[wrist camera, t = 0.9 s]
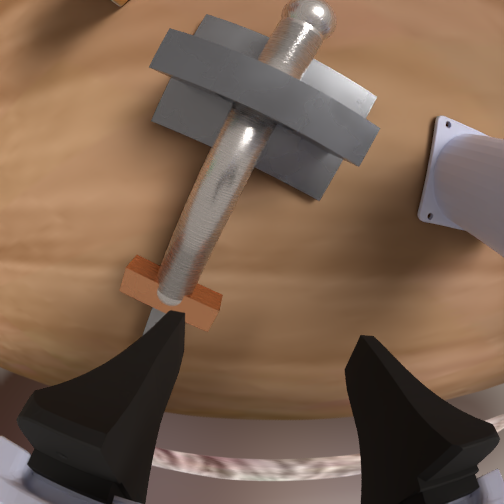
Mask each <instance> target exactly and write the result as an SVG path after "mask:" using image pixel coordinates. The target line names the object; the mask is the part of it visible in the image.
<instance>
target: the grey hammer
mask: <svg viewBox="0 0 504 504" xmlns="http://www.w3.org/2000/svg"><path fill="white" fill-rule="evenodd" d="M268 40H269V37H267V36H264V35H262V34H260V33H257V32H255V31H252V30H250V29H247V28H245V27H242V26H239V25H237V24H234V23H231V22H228V21H226V20H223V19H220V18H217V17H214V16H211V15H207V14H206V16H205V17H204V19H203V21H202V22H201V24H200V26H199V27H198V29H197V31H196V32H195V34H194V36H193V35H190V34H187V33H184V32H180V31H177V30H174V29H169V30H168V32H167V34H166V36H165V38H164V39H163V41H162V43H161V45H160V47H159V49H158V51H157V52H156V54H155V56H154V58H153V60H152V62H151V64H150V66H149V68H152V69H154V70H156V71H158V72H160V73H162V74H165V75H167V76H169V77H171V79H170V81H169V83H168V85H167V87H166V89H165V91H164V93H163V96H162V98H161V100H160V102H159V104H158V106H157V109H156V111H155V113H154V115H153V118H152V120H151V121H152V122H155V123H157V124H160V125H162V126H164V127H167V128H169V129H172V130H174V131H176V132H179V133H181V134H183V135H186V136H188V137H190V138H193V139H195V140H197V141H199V142H202V143H204V144H206V145H208V146H211V147H212V145H213V143H214V141H215V138H216V136H217V134H218V132H219V130H220V128H221V126H222V124H223V122H224V120H225V118H226V116H227V114H228V112H229V110H230V109H231V107H232V105H233V103H234V101H235V102H237V103H239V104H242V105H244V106H246V107H248V108H250V109H252V110H255V111H257V112H259V113H261V114H263V115H265V116H267V117H269V118H271V119H273V120H275V121H277V122H278V123H277V125H276V127H275V129H274V131H273V133H272V135H271V137H270V138H269V140H268V142H267V144H266V146H265V148H264V150H263V152H262V154H261V156H260V157H259V159H258V161H257V163H256V165H255V168H257V169H259V170H261V171H263V172H265V173H267V174H269V175H271V176H273V177H275V178H277V179H279V180H281V181H283V182H285V183H287V184H288V185H290V186H292V187H294V188H296V189H298V190H300V191H302V192H304V193H305V194H307V195H309V196H311V197H313V198H315V199H317V200H318V201H320V199H321V198H322V196H323V194H324V192H325V191H326V189H327V187H328V185H329V184H330V182H331V180H332V178H333V177H334V175H335V173H336V171H337V169H338V168H339V166H340V164H341V162H342V161H343V160H345V161H348V162H350V163H352V164H354V165H356V166H358V167H359V166H360V164H361V162H362V161H363V159H364V157H365V155H366V153H367V152H368V150H369V148H370V146H371V144H372V143H373V141H374V139H375V137H376V135H377V133H378V131H379V130H380V128H379V127H377V126H376V125H374V124H373V123H371V122H370V121H368V120H367V119H366V117H367V115H368V113H369V111H370V110H371V108H372V106H373V104H374V102H375V100H376V98H377V97H376V96H375V95H373V94H372V93H370V92H369V91H367V90H366V89H364V88H363V87H361V86H360V85H358V84H356V83H355V82H353V81H352V80H350V79H348V78H347V77H345V76H343V75H342V74H340V73H338V72H336V71H335V70H333V69H331V68H329V67H328V66H326V65H324V64H322V63H320V62H319V61H317V60H315V59H313V60H312V62H311V64H310V65H309V67H308V69H307V71H306V72H305V74H304V76H303V78H302V80H301V81H300V80H298V79H296V78H294V77H292V76H290V75H288V74H286V73H284V72H282V71H280V70H278V69H276V68H274V67H272V66H270V65H267V64H265V63H263V62H261V61H259V60H257V59H258V57H259V55H260V53H261V52H262V50H263V48H264V47H265V45H266V43H267V41H268ZM165 314H166V313H164V312H162V311H159V310H157V309H155V308H153V307H152V310H151V313H150V316H149V319H148V321H147V324H146V327H145V330H144V333H143V335H144V334H145V333H146V332H147V331H148V330H150V329H151V328H152V327H153V326H154V325H155V324H156V323H157V322H158V321H159V320H160V319H161V318H162V317H163V316H164V315H165Z"/></svg>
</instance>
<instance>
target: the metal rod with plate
mask: <svg viewBox="0 0 504 504" xmlns="http://www.w3.org/2000/svg"><path fill="white" fill-rule="evenodd" d="M336 22H337V20H336V15H335V12H334V10H333V8H332V7H331V6H330V5H329V4H328V3H327V2H326V1H324V0H290V1H289V2H288V3H287V4H286V5H285V6H284V8H283V11H282V14H281V20H280V22H279V23H278V25H277V27H276V28H275V30H274V31H273V33H272V35H271V36H270V38H269V40H268V41H267V43H266V45H265V47H264V48H263V50H262V52H261V53H260V55H259V57H258V59H257V60H259V61H261V62H263V63H265V64H267V65H270V66H272V67H274V68H276V69H278V70H280V71H282V72H284V73H286V74H288V75H290V76H292V77H294V78H296V79H298V80H300V81H301V80H302V78H303V76H304V74H305V72H306V71H307V69H308V67H309V65H310V64H311V62H312V60H313V58H314V57H315V55H316V53H317V51H318V50H319V48H320V46H321V44H322V42H323V40H325V39H327V38H328V37H329V36H330V35H331V34H332V33H333V32H334V30H335V27H336ZM277 123H278V122H277V121H275V120H273V119H271V118H269V117H267V116H265V115H263V114H261V113H259V112H257V111H255V110H252V109H250V108H248V107H246V106H244V105H242V104H239V103H237V102H235V101H234V103H233V105H232V107H231V109H230V110H229V112H228V114H227V116H226V118H225V120H224V122H223V124H222V126H221V128H220V130H219V132H218V134H217V136H216V138H215V141H214V143H213V145H212V147H211V149H210V151H209V153H208V155H207V157H206V159H205V162H204V164H203V166H202V168H201V170H200V172H199V175H198V177H197V179H196V181H195V184H194V186H193V188H192V190H191V193H190V195H189V197H188V199H187V202H186V204H185V206H184V209H183V211H182V213H181V216H180V218H179V221H178V223H177V226H176V228H175V230H174V233H173V235H172V238H171V240H170V243H169V245H168V248H167V250H166V253H165V256H164V258H163V261H162V263H161V266H159V265H157V264H155V263H153V262H151V261H149V260H147V259H144V258H142V257H140V256H138V255H136V256H135V258H134V259H133V260H132V261H131V262H130V263H129V265H128V266H127V267H126V269H125V272H124V276H123V279H122V283H121V287H120V290H119V291H121V292H123V293H125V294H126V295H128V296H130V297H132V298H135V299H137V300H139V301H141V302H143V303H145V304H147V305H149V306H151V307H153V308H155V309H157V310H159V311H162V312H164V313H167V312H168V311H170V310H173V311H178V312H184V313H185V322H186V323H188V324H190V325H193V326H195V327H197V328H199V329H202V330H204V331H207V332H208V331H209V329H210V327H211V325H212V323H213V322H214V320H215V318H216V316H217V314H218V312H219V310H220V305H221V301H222V296H223V295H222V294H219V293H217V292H215V291H213V290H211V289H208V288H206V287H204V286H202V285H200V284H197V283H198V281H199V278H200V276H201V274H202V272H203V270H204V268H205V266H206V264H207V262H208V260H209V257H210V255H211V253H212V251H213V249H214V247H215V245H216V243H217V241H218V239H219V237H220V235H221V233H222V231H223V229H224V227H225V225H226V222H227V220H228V218H229V216H230V214H231V212H232V210H233V208H234V206H235V204H236V202H237V200H238V198H239V196H240V194H241V192H242V191H243V189H244V187H245V185H246V183H247V181H248V179H249V177H250V175H251V173H252V171H253V169H254V167H255V165H256V163H257V161H258V159H259V157H260V156H261V154H262V152H263V150H264V148H265V146H266V144H267V142H268V140H269V138H270V137H271V135H272V133H273V131H274V129H275V127H276V125H277Z"/></svg>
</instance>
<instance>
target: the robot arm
mask: <svg viewBox="0 0 504 504" xmlns="http://www.w3.org/2000/svg"><path fill="white" fill-rule="evenodd" d="M446 122H448V127H446ZM429 213H431V216H430V217H429V218H427V217H428V214H429ZM418 218H419V219H420V220H421V221H423V222H428V223H433V224H437V225H442V226H447V227H451V228H456V229H460V230H464V231H467V232H469V233H470V234H471V235H473V236H474V237H476V238H477V239H479V240H480V241H482V242H483V243H484V244H486V245H487V246H489V247H490V248H491V249H493V250H494V251H496V252H497V253H498V254H500V255H501V256H502V257H504V139H499V138H494V137H489V136H487V135H485V134H483V133H481V132H479V131H477V130H475V129H473V128H471V127H468V126H466V125H464V124H462V123H459V122H457V121H455V120H452V119H450V118H447V117H445V116H438V117H437V118H436V120H435V128H434V134H433V141H432V147H431V153H430V159H429V164H428V169H427V174H426V179H425V184H424V188H423V193H422V197H421V201H420V205H419V210H418ZM184 335H185V313H184V312H178V311H173V310H170V311H168V312H167V313H166V314H165V315H164V316H163V317H162V318H161V319H160V320H159V321H158V322H157V323H156V324H155V325H154V326H153V327H152V328H151V329H150V330H148V331H147V332H146V333H145V334H144V335H143V336H142V337H141V338H139V339H138V340H137V341H136V342H134V343H133V344H132V345H131V346H129V347H128V348H127V349H126V350H124V351H123V352H121V353H120V354H119V355H117V356H116V357H114V358H113V359H111V360H109V361H108V362H106V363H105V364H103V365H101V366H99V367H97V368H96V369H94V370H92V371H90V372H88V373H86V374H84V375H81V376H79V377H77V378H74V379H72V380H69V381H66V382H64V383H61V384H58V385H54V386H51V387H47V388H43V389H40V390H35V391H34V393H33V394H32V395H31V397H30V398H29V399H28V401H27V403H26V404H25V406H24V407H23V409H22V411H21V413H20V414H19V416H18V418H17V423H18V426H19V428H20V429H21V431H22V432H23V434H24V435H25V436H26V438H27V439H28V440H29V442H30V443H31V444H32V446H33V447H34V448H35V449H34V451H33V453H32V455H31V454H30V453H29V452H28V451H26V450H25V449H23V448H22V447H20V446H18V445H17V444H15V443H13V442H12V441H10V440H8V439H6V438H5V437H4V436H0V503H1V504H145V502H146V495H147V488H148V481H149V475H150V470H151V465H152V459H153V454H154V450H155V445H156V440H157V435H158V431H159V427H160V423H161V420H162V417H163V413H164V411H165V408H166V405H167V403H168V400H169V397H170V395H171V392H172V389H173V387H174V384H175V381H176V379H177V376H178V373H179V370H180V366H181V362H182V357H183V353H184ZM345 377H346V386H347V392H348V396H349V400H350V404H351V408H352V412H353V416H354V419H355V424H356V428H357V431H358V437H359V445H360V455H361V473H362V488H361V504H504V481H503V478H502V476H501V473H500V471H499V469H495V470H493V471H491V472H489V473H487V474H485V475H482V476H481V477H479V478H476V476H475V474H476V473H477V472H478V471H479V469H478V467H477V464H478V463H479V462H481V461H482V460H483V459H484V458H485V457H486V456H487V455H488V454H489V453H491V452H492V450H494V448H495V447H496V446H497V445H498V443H499V440H500V438H499V436H498V434H497V431H496V429H495V427H494V426H493V424H491V423H488V422H485V421H483V420H480V419H478V418H475V417H473V416H471V415H469V414H467V413H465V412H463V411H461V410H459V409H457V408H456V407H454V406H452V405H451V404H449V403H448V402H446V401H444V400H443V399H441V398H440V397H439V396H437V395H436V394H435V393H433V392H432V391H431V390H429V389H428V388H427V387H426V386H424V385H423V384H422V383H421V382H420V381H419V380H418V379H416V378H415V377H414V376H413V375H412V374H411V373H410V372H409V371H408V370H407V369H406V368H405V367H404V366H403V365H402V364H401V363H400V362H399V361H398V360H397V359H396V358H395V357H394V356H393V355H392V354H391V353H390V352H389V351H388V350H387V349H386V348H385V347H384V346H383V345H382V344H381V343H380V342H379V341H378V340H377V339H376V338H375V337H374V336H365V335H360V338H359V340H358V342H357V344H356V346H355V349H354V351H353V353H352V355H351V357H350V359H349V361H348V364H347V366H346V368H345Z"/></svg>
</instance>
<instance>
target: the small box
mask: <svg viewBox="0 0 504 504" xmlns="http://www.w3.org/2000/svg"><path fill="white" fill-rule="evenodd" d="M111 1H112V2H114V3H115V4H116V5H118V6H120V7H121V6H122V5H124V4H125V3H126V2H127V1H128V0H111Z"/></svg>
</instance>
